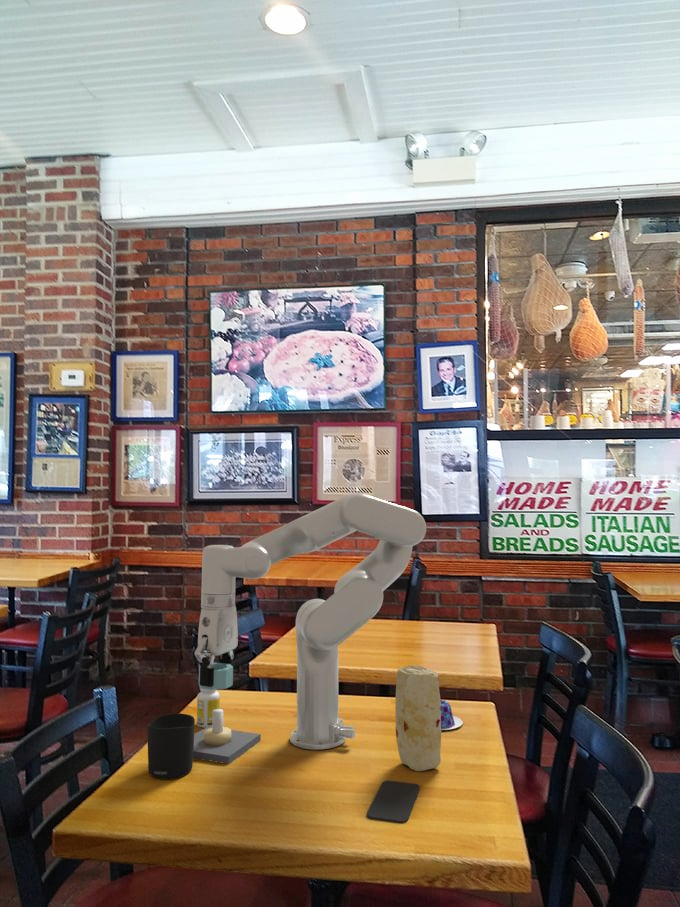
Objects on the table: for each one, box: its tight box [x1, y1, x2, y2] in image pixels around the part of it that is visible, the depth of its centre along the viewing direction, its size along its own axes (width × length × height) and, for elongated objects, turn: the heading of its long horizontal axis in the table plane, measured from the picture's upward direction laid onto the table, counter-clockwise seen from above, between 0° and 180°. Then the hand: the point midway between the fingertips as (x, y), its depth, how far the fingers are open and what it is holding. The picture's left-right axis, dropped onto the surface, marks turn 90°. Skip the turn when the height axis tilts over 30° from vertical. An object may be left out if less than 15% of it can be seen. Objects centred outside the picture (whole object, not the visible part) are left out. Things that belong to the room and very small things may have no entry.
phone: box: [366, 779, 421, 824], centre depth 122 cm, size 7×1×15 cm
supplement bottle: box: [196, 686, 221, 729], centre depth 163 cm, size 5×5×10 cm
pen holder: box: [146, 712, 196, 780], centre depth 136 cm, size 9×9×10 cm
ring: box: [198, 662, 234, 691], centre depth 149 cm, size 7×7×4 cm
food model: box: [394, 665, 442, 772], centre depth 139 cm, size 10×7×20 cm
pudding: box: [440, 699, 463, 731], centre depth 164 cm, size 12×12×5 cm
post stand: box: [193, 708, 262, 765], centre depth 149 cm, size 14×14×8 cm
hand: (216, 680), depth 149 cm, fingers closed on ring, 7 cm apart
